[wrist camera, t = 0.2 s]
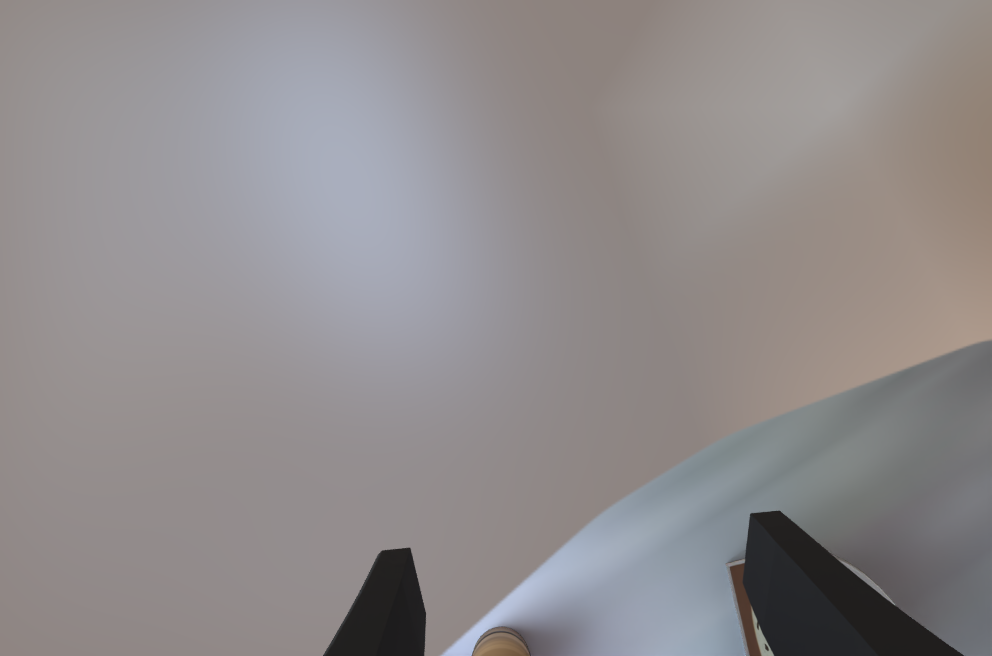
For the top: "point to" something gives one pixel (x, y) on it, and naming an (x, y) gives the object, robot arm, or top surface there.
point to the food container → (750, 629)
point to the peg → (501, 643)
